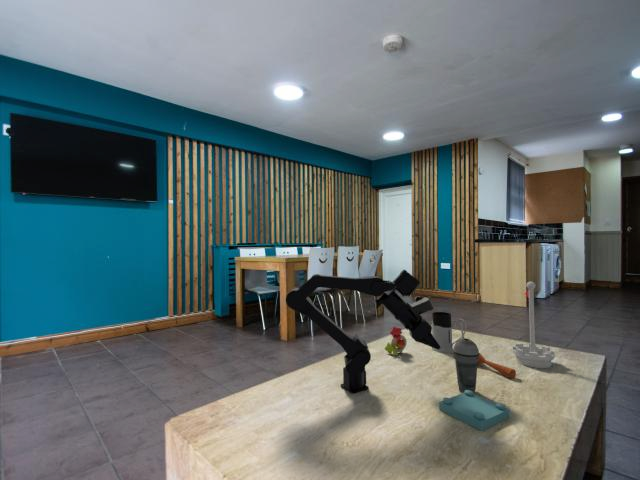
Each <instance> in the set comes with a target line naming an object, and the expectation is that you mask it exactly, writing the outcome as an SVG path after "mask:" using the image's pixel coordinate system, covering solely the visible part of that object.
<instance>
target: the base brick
mask: <svg viewBox="0 0 640 480" xmlns="http://www.w3.org/2000/svg"><path fill="white" fill-rule="evenodd" d="M438 403H439V406H438V407H439V409H438V410H440V411H441V412H444V414H445V413H446V414H448V415H449V416H452V417H453V418H455V419H457V420H459V421H461V422H463V423H465V424H467V425H469V426H471V427H473V428H474V429H477V430H479V431H480V432H482V431H484V430H486V429H488V428H490V427H492V426H495V425H497V424H499V423H501V422H503V421H505V420H507V419H509V418H510V417H511V408H509V407H507V406H506V404H504V403H503V402H494V401H491V400H490V399H487V398H485V397H483V396H480V395H477V394H476V393H475V394H473V391H471V390H465V392H464V393H459V394H456V395H454V396H451V397H443V399H442V400H441V401H439V402H438Z"/></svg>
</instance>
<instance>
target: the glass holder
mask: <svg viewBox="0 0 640 480" xmlns="http://www.w3.org/2000/svg"><path fill="white" fill-rule="evenodd" d="M431 317H432V318H431V326H432V330H431V334H432V335H433V337H434V338H435V340H436V341H437V342H438V344H439V345H440V347H441V348H440V349H435V348H433V347H431V348H432V349H431V350H432V351H435V352H439V353H445V354H447V353H454V352H453V350H454V345H455V343H456V342H457V341H458V340H460V339H462V336H461V337H459V338H457V340H455V341H453V330H454V329H455V328H456V326H457V322H458V321H462V322H463V323H464V326H465V328H464V330H463V333H464V335H465V334H466V332H467V322H466V321H465V320H464V319H463V318H458V319H456V320H455V321H454V326H453V327H452V314H451V312H450V313H449V312H446V311H434V312H432V313H431Z"/></svg>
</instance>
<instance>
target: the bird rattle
mask: <svg viewBox="0 0 640 480" xmlns="http://www.w3.org/2000/svg"><path fill="white" fill-rule="evenodd" d="M389 334H390V335H391V336H392V339H391V340H390V341H391V342H387V344H386V346H385V347H384V350H385V351H386V352H387V353H388V354H389V353H390V354H393V356H397V355H398V356H399V353H401V352H402V353H403V351H404V350H405V348H407V347H406V346H407V343H408V342H407V338H406V337H405V336H404V334H403V331H402V328H401V327H395V326H392V330H390V331H389Z"/></svg>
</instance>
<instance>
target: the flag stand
mask: <svg viewBox="0 0 640 480" xmlns="http://www.w3.org/2000/svg"><path fill="white" fill-rule="evenodd" d="M525 287H526V288H527V289H528V290H527V291H526V292H525V293H524V295H525V296H526V297H527V298H528V311H529V312H528V313H529V314H528V315H529V342H528V344H527V345H524V343H522V342H518V343H515V344H513V345H512V353H513V355H514V356H515V361H516V362H517V363H518V364H521V365H523V366H525V367H526V366H527V367H530V368H537V369H546V368H551V367H552V361H553V360H554V359H555V358H556V357H555V349H551V347H549V346H547V345H542V346H541V347H537V344H536V336H535V335H536V332H535V325H536V324H535V302H534V301H535V298H534V296H535V295H534V290H535V289H536V283H535V282H534V281H528V282H526V285H525Z"/></svg>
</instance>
